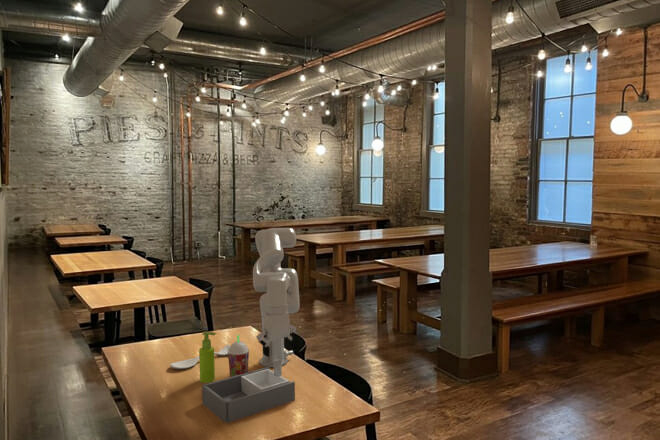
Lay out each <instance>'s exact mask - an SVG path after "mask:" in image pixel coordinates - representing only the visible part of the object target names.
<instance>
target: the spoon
mask: <svg viewBox="0 0 660 440" xmlns="http://www.w3.org/2000/svg"><path fill="white" fill-rule="evenodd" d="M230 346H231V345H230V344H226V345H225V346H224V347H223V348H221V349H220V350H219V351H218V352H216V351H214V355H216V356H221V357H224V356H228V350H229V348H230ZM198 361H200V358H199V356H196V357H193V358H189V359H184V360H179V361H175V362H172V363H170V367H171V368H173V369H179V370H184V369H189V368H192V367H193V366H195V365H196V364H197V363H198Z"/></svg>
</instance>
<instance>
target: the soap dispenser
mask: <svg viewBox="0 0 660 440" xmlns="http://www.w3.org/2000/svg"><path fill="white" fill-rule="evenodd" d="M201 335H203V338H204V339H203V340H201V345H202V347H200V348H199V349H198V351H199V352H198V353H199V358H200V359H199V381H200V383H203V384H208V383H212V382H215V380H216V373H215V369H216V368H215V366H216V365H215V363H216V362H215V354H214V352H215V347H213V346H212V341H211V339H210V337H209V336H213V337H214V336H216V335H217V333H216V332H213V331H203V332H202V333H201Z"/></svg>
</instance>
